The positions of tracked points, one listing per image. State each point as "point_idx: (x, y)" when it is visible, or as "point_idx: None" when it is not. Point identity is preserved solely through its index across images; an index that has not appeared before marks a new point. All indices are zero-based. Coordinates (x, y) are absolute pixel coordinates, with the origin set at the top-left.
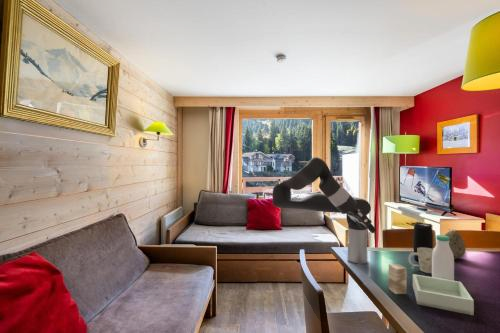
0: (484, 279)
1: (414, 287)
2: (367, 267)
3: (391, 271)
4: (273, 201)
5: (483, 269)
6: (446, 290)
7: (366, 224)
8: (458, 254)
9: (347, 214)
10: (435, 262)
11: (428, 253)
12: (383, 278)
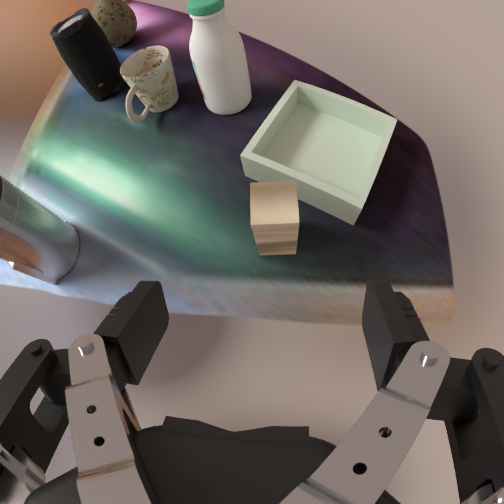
0: None
1: None
2: (104, 243)
3: (272, 232)
4: None
5: (183, 24)
6: (287, 118)
7: (478, 415)
8: (134, 29)
9: (37, 457)
10: (222, 75)
11: (162, 65)
12: (185, 233)
